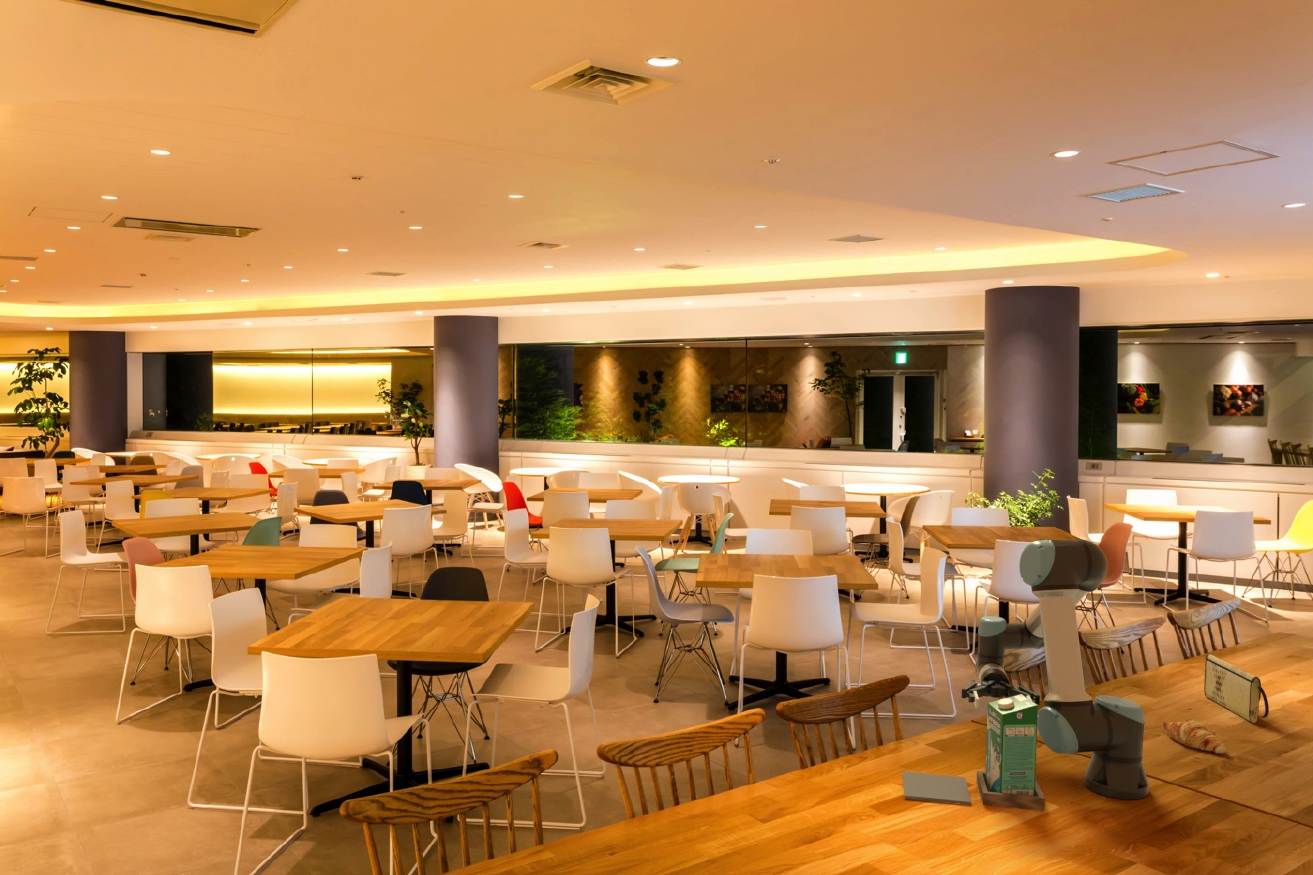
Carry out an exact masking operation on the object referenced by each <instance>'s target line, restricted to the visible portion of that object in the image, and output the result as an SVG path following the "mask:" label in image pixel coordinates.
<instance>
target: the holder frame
mask: <svg viewBox="0 0 1313 875" xmlns="http://www.w3.org/2000/svg"><path fill="white" fill-rule="evenodd" d="M985 773H986V771H981V770H976V785H978V786H977V789H978V793H979V795H980V800H981V803H982V806H990V807H992V806H993V807H999V808H1000V807H1001V808H1010V809H1021V810H1031V811H1032V810H1033V811H1042V812H1045V809H1046V808H1045V806H1046V805H1045V802H1046V801H1045V800H1046V799H1045V795H1044V794H1043V791H1042V790H1041V787H1040V784H1039V783H1038V780H1037V777H1036V776H1035V796H1029V795H1018V794H1008V793H997V792H988V791H987V787H986V784H985Z"/></svg>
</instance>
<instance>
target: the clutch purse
mask: <svg viewBox="0 0 1313 875" xmlns="http://www.w3.org/2000/svg"><path fill="white" fill-rule="evenodd" d="M1204 670H1205V671H1204V683H1203V684H1204V690H1203V691H1204V696H1205V697H1206V698H1208V699H1210V700H1212V701H1214V702H1215V703H1217V704H1218V705H1221V706H1222V707H1224V708H1226V709H1227V710H1229V711H1231V712H1232V713H1234V714H1236V715H1238V716H1240V717H1242V718H1243V719H1245V720H1247V721H1248V722H1250V723H1251V724H1256V723H1257V722H1258V718H1262V719H1263V718H1264V719H1266V718H1268V716H1269V713H1270V712H1269V711H1270V710H1269V709H1270V707H1269V700H1268V697H1267V694H1266V691H1265V690H1264V688H1263V687H1262V683H1261V679H1260V677H1258V676H1256V675H1254V674H1252V673H1249V672H1248V671H1245V670H1244V669H1241V668H1239V667H1238V666H1235V665H1233V664H1231V663H1229V662H1228V661H1225V660H1223V659H1221V658H1219V657H1217V656H1216V655H1213V654H1211V653H1207V654H1206V656H1205V667H1204ZM1262 697H1263V703H1264V709H1265V710H1264V714H1263V715H1262V716H1259V711H1260V710H1259V708H1260V700H1261V698H1262Z"/></svg>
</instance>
